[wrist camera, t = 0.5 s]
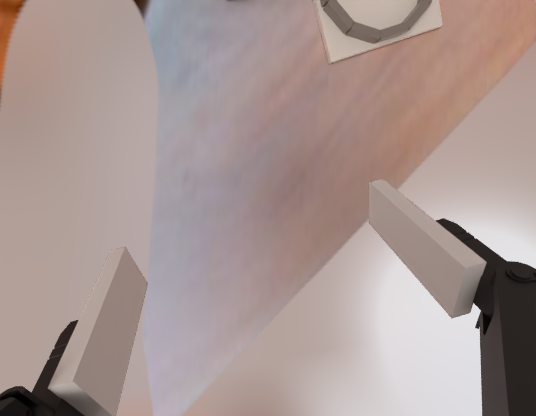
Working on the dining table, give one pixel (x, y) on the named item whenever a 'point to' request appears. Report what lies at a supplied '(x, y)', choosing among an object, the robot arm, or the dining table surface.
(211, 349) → the dining table surface
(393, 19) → the ring plate
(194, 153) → the dining table surface
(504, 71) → the dining table surface
